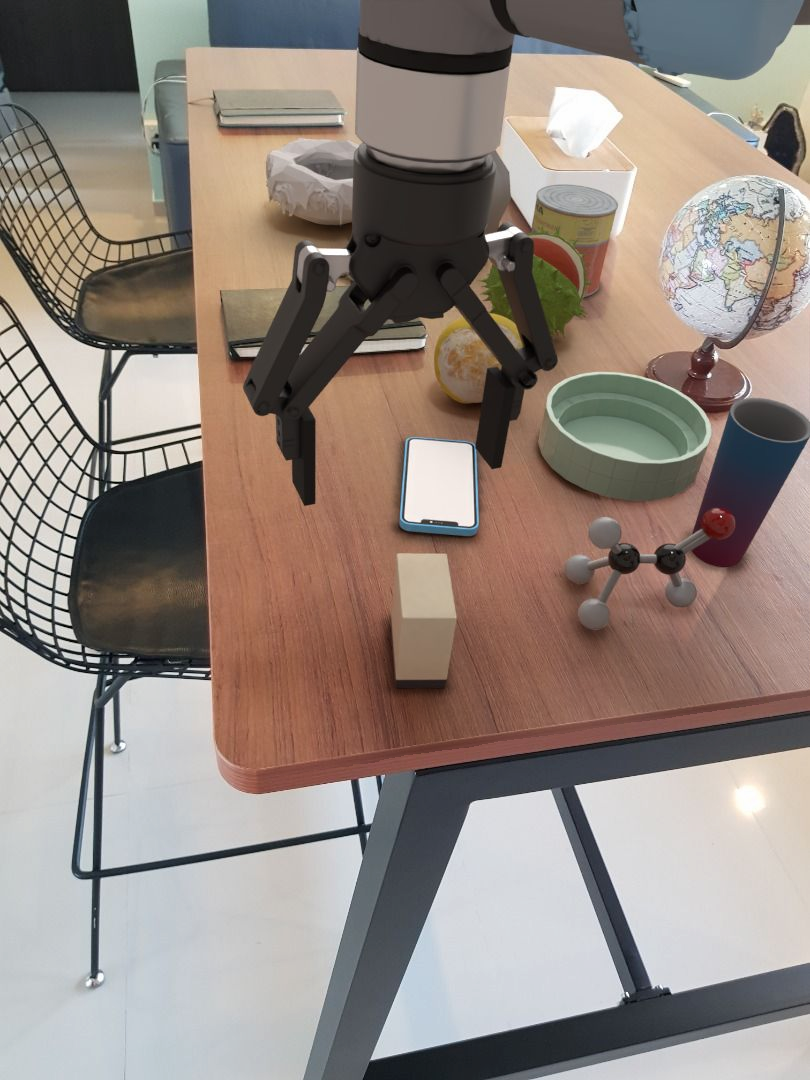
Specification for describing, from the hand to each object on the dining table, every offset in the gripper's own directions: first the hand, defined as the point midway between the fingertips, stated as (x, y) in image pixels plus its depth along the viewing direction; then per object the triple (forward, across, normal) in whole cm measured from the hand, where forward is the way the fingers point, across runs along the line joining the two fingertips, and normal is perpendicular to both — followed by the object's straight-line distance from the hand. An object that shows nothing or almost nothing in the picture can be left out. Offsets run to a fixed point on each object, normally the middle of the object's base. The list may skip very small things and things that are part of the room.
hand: (399, 475), depth 58 cm
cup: (+18, -35, -1) cm, 39 cm away
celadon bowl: (+18, -34, -17) cm, 42 cm away
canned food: (+18, -50, -58) cm, 79 cm away
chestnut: (+18, -38, -45) cm, 61 cm away
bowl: (+18, -24, -88) cm, 93 cm away
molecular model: (+18, -23, +2) cm, 29 cm away
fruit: (+18, -24, -32) cm, 44 cm away
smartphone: (+18, -13, -18) cm, 28 cm away
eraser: (+18, -2, +2) cm, 18 cm away
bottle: (+18, -39, -68) cm, 81 cm away
